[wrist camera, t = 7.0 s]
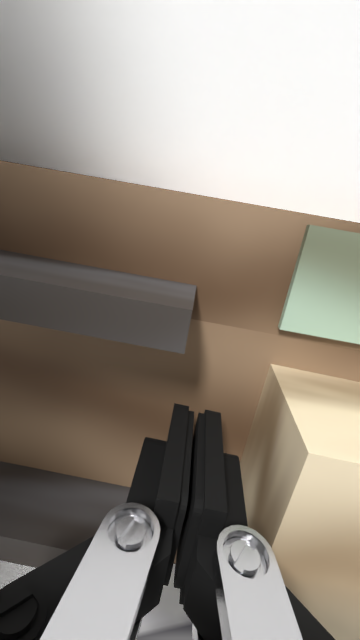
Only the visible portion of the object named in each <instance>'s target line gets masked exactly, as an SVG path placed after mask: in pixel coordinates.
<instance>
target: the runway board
mask: <svg viewBox="0 0 360 640" xmlns="http://www.w3.org/2000/svg"><path fill="white" fill-rule="evenodd" d="M270 364H274V365H279V366H284V367H289V368H294V369H298V370H303V371H308V372H313V373H318V374H323V375H328V376H332V377H337V378H342V379H347V380H352V381H357V382H360V223H357V222H351V221H345V220H339V219H334V218H328V217H322V216H316V215H311V214H305V213H299V212H293V211H288V210H282V209H276V208H271V207H265V206H259V205H253V204H248V203H242V202H236V201H230V200H225V199H219V198H213V197H207V196H202V195H196V194H190V193H184V192H179V191H173V190H167V189H161V188H156V187H150V186H144V185H139V184H133V183H127V182H121V181H116V180H110V179H104V178H98V177H93V176H87V175H81V174H75V173H70V172H64V171H58V170H52V169H47V168H41V167H35V166H30V165H24V164H18V163H12V162H7V161H1V160H0V560H2V561H7V562H12V563H17V564H21V565H26V566H31V567H35V568H38V567H40V566H41V565H43V564H45V563H47V562H48V561H50V560H52V559H54V558H55V557H57V556H59V555H61V554H62V553H64V552H66V551H68V550H70V549H71V548H73V547H75V546H77V545H78V544H80V543H82V542H84V541H85V540H87V539H89V538H91V537H92V536H94V535H95V534H96V532H97V530H98V529H99V527H100V525H101V523H102V521H103V519H104V518H105V516H106V515H107V514H108V512H109V511H110V510H112V509H113V508H114V507H116V506H118V505H120V504H123V503H126V501H127V497H128V494H129V490H130V487H131V483H132V480H133V477H134V473H135V470H136V466H137V463H138V459H139V456H140V452H141V449H142V446H143V442H144V439H145V437H149V438H154V439H159V440H163V441H167V438H168V433H169V428H170V423H171V418H172V412H173V407H174V403H176V404H181V405H186V406H189V411H194V424H193V435H194V430H195V426H196V421H197V417H198V413H204V412H205V409H206V410H211V411H216V412H220V413H221V422H222V437H223V452H224V453H227V454H232V455H237V456H238V457H239V461H241V458H242V455H243V452H244V448H245V445H246V442H247V439H248V435H249V432H250V429H251V426H252V422H253V419H254V416H255V413H256V409H257V406H258V403H259V400H260V396H261V393H262V390H263V387H264V383H265V380H266V377H267V374H268V371H269V367H270ZM192 439H193V438H192ZM176 555H177V551H176ZM176 555H175V559H174V564H176Z"/></svg>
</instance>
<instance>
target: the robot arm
mask: <svg viewBox="0 0 360 640" xmlns="http://www.w3.org/2000/svg"><path fill="white" fill-rule="evenodd" d="M193 424H194V411H189V406H186V405H181V404H176V403H174V407H173V412H172V418H171V423H170V428H169V433H168V438H167V441H163V440H159V439H154V438H149V437H145V439H144V442H143V446H142V449H141V452H140V456H139V459H138V463H137V466H136V470H135V473H134V477H133V480H132V483H131V487H130V490H129V494H128V497H127V501H126V503H123V504H120V505H118V506H116V507H114V508H113V509H112V510H110V511H109V512H108V514H107V515H106V516H105V518H104V519H103V521H102V523H101V525H100V527H99V529H98V530H97V532H96V534H95V535H94V536H92V537H91V538H89V539H87V540H85V541H84V542H82V543H80V544H78V545H77V546H75V547H73V548H71V549H70V550H68V551H66V552H64V553H62V554H61V555H59V556H57V557H55V558H54V559H52V560H50V561H48V562H47V563H45V564H43V565H41V566H40V567H38V568H36V569H34V570H32V571H31V572H29V573H27V574H25V575H24V576H22V577H20V578H18V579H17V580H15V581H13V582H11V583H10V584H8V585H6V586H5V587H4V588H2V589H1V590H0V640H136V639H137V636H138V632H139V629H140V626H141V622H142V617H144V616H145V615H146V614H147V613H148V612H150V611H151V610H152V609H153V608H154V607H155V606H157V605H158V604H159V601H160V597H161V593H162V588H163V585H166V586H168V584H169V580H170V576H171V572H172V567H173V563H174V559H175V555H176V551H177V555H176V566H175V576H174V587H175V588H180V603H179V604H183V605H184V608H183V609H184V611H185V612H186V614H187V615H188V617H189V618H190V620H191V621H192V623H193V626H192V639H193V640H335V639H334V638H333V636H332V635H331V634H330V633H329V632H328V631H327V630H326V629H325V628H324V627H323V626H322V625H321V624H320V622H319V621H318V620H317V619H316V618H315V617H314V616H313V615H312V614H311V613H310V612H309V611H308V609H307V608H306V607H305V606H304V605H303V604H302V603H301V602H300V601H299V600H298V599H297V598H296V597H295V595H294V594H293V593H292V592H291V591H290V590H289V589H288V588H287V587H286V586H285V585H284V582H283V579H282V576H281V573H280V570H279V567H278V564H277V561H276V558H275V555H274V552H273V550H272V548H271V546H270V545H269V543H268V542H267V541H266V539H265V538H264V537H263V536H262V535H260V534H259V533H258V532H257V531H255V530H253V529H251V528H249V527H248V524H247V516H246V508H245V500H244V492H243V485H242V477H241V469H240V461H239V457H238V456H237V455H232V454H227V453H224V452H223V437H222V422H221V413H220V412H216V411H211V410H206V409H205V412H204V413H198V417H197V421H196V426H195V430H194V435H193ZM192 438H193V439H192Z"/></svg>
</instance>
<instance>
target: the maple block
mask: <svg viewBox="0 0 360 640" xmlns="http://www.w3.org/2000/svg"><path fill="white" fill-rule="evenodd" d="M240 469H241V477H242V485H243V492H244V500H245V508H246V516H247V524H248V527H249V528H251V529H253V530H255V531H257V532H258V533H259V534H260V535H262V536H263V537H264V538H265V539H266V541H267V542H268V543H269V545H270V546H271V548H272V550H273V552H274V555H275V558H276V561H277V564H278V567H279V570H280V573H281V576H282V579H283V582H284V585H285V586H286V587H287V588H288V589H289V590H290V591H291V592H292V593H293V594H294V595H295V597H296V598H297V599H298V600H299V601H300V602H301V603H302V604H303V605H304V606H305V607H306V608H307V609H308V611H309V612H310V613H311V614H312V615H313V616H314V617H315V618H316V619H317V620H318V621H319V622H320V624H321V625H322V626H323V627H324V628H325V629H326V630H327V631H328V632H329V633H330V634H331V635H332V636H333V638H334V639H335V640H360V382H357V381H352V380H347V379H342V378H337V377H332V376H328V375H323V374H318V373H313V372H308V371H303V370H298V369H294V368H289V367H284V366H279V365H274V364H270V367H269V371H268V374H267V377H266V380H265V383H264V387H263V390H262V393H261V396H260V400H259V403H258V406H257V409H256V413H255V416H254V419H253V422H252V426H251V429H250V432H249V435H248V439H247V442H246V445H245V448H244V452H243V455H242V458H241V461H240Z"/></svg>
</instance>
